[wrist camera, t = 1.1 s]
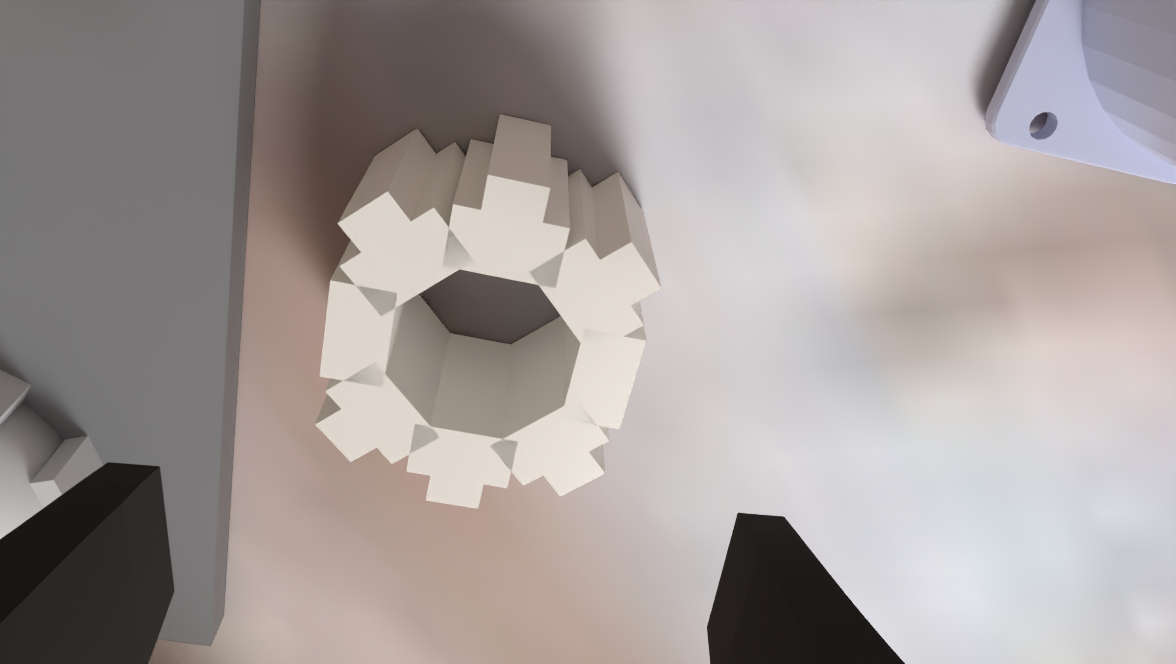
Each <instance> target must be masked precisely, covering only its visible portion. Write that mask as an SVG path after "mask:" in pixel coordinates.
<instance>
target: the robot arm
mask: <svg viewBox="0 0 1176 664" xmlns="http://www.w3.org/2000/svg"><path fill="white" fill-rule="evenodd" d="M1042 112H1046V113H1047V115H1048V117H1047V122H1046V124H1045V125H1044V127H1043V128H1042V129H1041V130H1039V131H1038V132H1036V133H1030V132H1029V127H1030V123H1031V121H1032V120H1033V119H1034V118H1035V116H1037V115H1039V114H1041V113H1042ZM985 125H986V129H987V131H988V132H989V134H990V135H991V136H992V137H993V138H995V139H996V140H998V141H1000V142H1002V143H1004V144H1006V145H1009V146H1014V147H1018V148H1022V149H1026V150H1031V151H1035V152H1039V153H1043V154H1048V155H1052V156H1056V157H1060V158H1064V159H1069V160H1073V161H1077V162H1081V163H1086V164H1090V165H1094V166H1098V167H1103V168H1107V169H1111V170H1115V171H1120V172H1124V173H1128V174H1132V175H1136V176H1141V177H1145V178H1149V179H1153V180H1158V181H1162V182H1166V183H1170V184H1175V185H1176V0H1036V1H1035V4H1034V6H1033V8H1032V10H1031V13H1030V15H1029V17H1028V19H1027V21H1026V24H1025V26H1024V28H1023V30H1022V33H1021V35H1020V37H1019V39H1018V42H1017V44H1016V46H1015V48H1014V51H1013V53H1012V55H1011V57H1010V59H1009V62H1008V64H1007V66H1006V68H1005V71H1004V73H1003V75H1002V77H1001V80H1000V82H999V84H998V86H997V89H996V91H995V93H994V95H993V97H992V100H991V102H990V104H989V106H988V109H987V112H986V116H985ZM174 591H175V590H174V581H173V573H172V564H171V556H170V547H169V539H168V530H167V522H166V513H165V504H164V496H163V487H162V479H161V470H160V466H150V465H138V464H126V463H113V462H108V463H106V464H105V465H103V466H102V467H100V468H99V469H97V470H96V471H94V472H93V473H91V474H90V475H89V476H87V477H86V478H84V479H83V480H82V481H80V482H79V483H77V484H76V485H75V486H73V487H72V488H71V489H69V490H68V491H66V492H65V493H64V494H62V495H61V496H60V497H58V498H57V499H55V500H54V501H53V502H51V503H50V504H49V505H47V506H46V507H44V508H43V509H42V510H40V511H39V512H38V513H36V514H35V515H33V516H32V517H31V518H29V519H28V520H26V521H25V522H24V523H22V524H21V525H20V526H18V527H17V528H15V529H14V530H12V531H11V532H10V533H8V534H7V535H5V536H4V537H2V538H1V539H0V664H148V662H149V659H150V657H151V654H152V652H153V649H154V646H155V644H156V641H157V639H158V636H159V633H160V631H161V628H162V625H163V622H164V619H165V617H166V614H167V611H168V608H169V605H170V602H171V600H172V597H173V594H174ZM707 632H708V643H709V653H710V664H905V663H904V662H903V661H902V660H901V659H900V657H899V656H898V655H897V654H896V653H895V652H894V651H893V650H892V649H891V647H890V646H889V645H888V644H887V643H886V642H885V641H884V639H883V638H882V637H881V636H880V635H879V634H878V632H877V631H876V630H875V629H874V628H873V626H872V625H871V624H870V623H869V622H868V621H867V619H866V618H865V617H864V616H863V615H862V614H861V612H860V611H859V610H858V609H857V607H856V606H855V605H854V604H853V603H852V601H851V600H850V599H849V598H848V597H847V595H846V594H845V593H844V592H843V590H842V589H841V588H840V587H839V585H838V584H837V583H836V582H835V580H834V579H833V578H832V577H831V575H830V574H829V573H828V572H827V570H826V569H825V568H824V567H823V565H822V564H821V563H820V561H819V560H818V559H817V558H816V556H815V555H814V554H813V553H812V551H811V550H810V549H809V548H808V546H807V545H806V544H805V542H804V541H803V540H802V539H801V537H800V536H799V535H798V534H797V532H796V531H795V530H794V529H793V527H792V526H791V525H790V524H789V522H788V521H787V520H786V519H785V517H782V516H770V515H757V514H745V513H738V514H737V518H736V522H735V525H734V529H733V533H732V537H731V540H730V544H729V548H728V551H727V555H726V559H725V563H724V566H723V570H722V574H721V577H720V581H719V585H718V588H717V592H716V596H715V600H714V603H713V607H712V611H711V614H710V618H709V622H708V626H707Z"/></svg>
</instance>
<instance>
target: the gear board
mask: <svg viewBox="0 0 1176 664" xmlns="http://www.w3.org/2000/svg"><path fill="white" fill-rule="evenodd" d="M260 4H261V0H0V539H1V538H2V537H4V536H5V535H7V534H8V533H10V532H11V531H12V530H14V529H15V528H17V527H18V526H20V525H21V524H22V523H24V522H25V521H26V520H28V519H29V518H31V517H32V516H33V515H35V514H36V513H38V512H39V511H40V510H42V509H43V508H44V507H46V506H47V505H49V504H50V503H51V502H53V501H54V500H55V499H57V498H58V497H60V496H61V495H62V494H64V493H65V492H66V491H68V490H69V489H71V488H72V487H73V486H75V485H76V484H77V483H79V482H80V481H82V480H83V479H84V478H86V477H87V476H89V475H90V474H91V473H93V472H94V471H96V470H97V469H99V468H100V467H102V466H103V465H105V464H106V463H108V462H113V463H126V464H138V465H150V466H160V470H161V479H162V487H163V496H164V504H165V513H166V522H167V530H168V539H169V547H170V556H171V564H172V573H173V581H174V590H175V591H174V594H173V597H172V600H171V602H170V605H169V608H168V611H167V614H166V617H165V619H164V622H163V625H162V628H161V631H160V633H159V636H158V639H161V640H168V641H176V642H183V643H191V644H198V645H206V646H211V644H212V642H213V640H214V637H215V635H216V633H217V630H218V628H219V626H220V623H221V621H222V618H223V616H224V603H225V587H226V570H227V553H228V537H229V520H230V503H231V487H232V470H233V453H234V437H235V420H236V403H237V387H238V370H239V353H240V337H241V320H242V303H243V287H244V270H245V253H246V237H247V220H248V203H249V187H250V170H251V154H252V137H253V120H254V104H255V87H256V70H257V54H258V37H259V20H260Z"/></svg>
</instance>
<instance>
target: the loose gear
mask: <svg viewBox="0 0 1176 664" xmlns="http://www.w3.org/2000/svg"><path fill="white" fill-rule="evenodd" d="M337 224H338V225H339V226H340V227H341V228H342V230H343V231H344V232H345V233H346V235H347V236H348V237H349V238H350V239H351V240H350V242H349V244H348V246H347V248H346V250H345V252H344V254H343V256H342V258H341V260H340V262H339V264H338V266H337V268H336V270H335V272H334V274H333V276H332V278H331V280H330V288H329V297H328V306H327V315H326V324H325V333H324V342H323V351H322V360H321V369H320V377H325V378H330V381H329V383H328V385H327V388H326V390H325V392H326V393H327V397H326V399H325V401H324V404H323V406H322V409H321V411H320V414H319V416H318V419H317V421H316V424H315V425H316V426H317V427H318V428H319V429H320V430H321V431H322V432H323V433H324V434H325V435H326V436H327V437H328V438H329V440H330V441H331V442H332V443H333V444H334V445H335V446H336V447H337V448H338V449H339V450H340V451H341V452H342V453H343V454H344V455H345V456H346V458H347V459H348V460H349V461H350V462H352V461H353V460H355V459H357V458H359V457H360V456H362V455H364V454H366V453H368V452H369V451H371V450H373V449H375V448H377V449H378V450H379V451H380V452H381V453H382V454H383V455H384V456H385V457H386V458H387V459H388V461H389V462H390V463H391V464H393V463H395V462H396V461H398V460H400V459H402V458H404V457H406V456H407V455H409V460H408V466H407V471H406V472H411V473H417V474H423V475H430V481H429V486H428V492H427V497H426V500H427V501H433V502H439V503H445V504H452V505H458V506H464V507H470V508H476V509H478V506H479V502H480V498H481V493H482V489H483V484H484V485H491V486H497V487H503V488H507V486H508V482H509V478H510V474H511V472H512V473H513V474H514V475H515V477H516V478H517V479H518V480H519V481H520V483H521V484H522V485H523V486H524V485H526V484H528V483H529V482H531V481H533V480H535V479H537V478H539V477H541V476H544V477H545V478H546V479H547V481H548V482H549V483H550V484H551V485H552V487H553V488H554V489H555V490H556V492H557V493H558V494H559V495H560V496H562V495H564V494H566V493H568V492H570V491H572V490H574V489H576V488H578V487H580V486H582V485H584V484H586V483H588V482H589V481H591V480H593V479H595V478H597V477H599V476H601V475H603V474H605V464H604V451H603V444H604V443H606V442H608V441H609V432H608V427H609V428H615V429H620V426H621V422H622V419H623V416H624V413H625V409H626V406H627V403H628V399H629V396H630V393H631V390H632V386H633V383H634V380H635V377H636V373H637V370H638V367H639V363H640V360H641V357H642V354H643V350H644V347H645V344H646V336H645V330H644V322H643V317H642V311H641V306H640V300H642V299H643V298H645V297H647V296H649V295H651V294H652V293H654V292H656V291H658V290H659V289H661V284H660V280H659V275H658V271H657V267H656V263H655V259H654V254H653V250H652V246H651V242H650V238H649V233H648V229H647V225H646V221H645V217H644V212H643V211H642V209H641V207H640V206H639V204H638V203H637V201H636V199H635V198H634V196H633V195H632V193H631V192H630V190H629V188H628V187H627V185H626V184H625V182H624V180H623V179H622V177H621V176H620V174H619V172H617V173H615V174H613V175H612V176H610V177H608V178H607V179H605V180H604V181H602V182H600V183H599V184H597V185H595V186H594V187H592V186H591V185H590V183H589V182H588V180H587V179H586V177H585V176H584V174H583V172H582V171H581V169H579V170H577V171H576V172H574V173H573V174H571V175H569V176H568V167H567V160H565V159H560V158H556V157H551V125H547V124H542V123H538V122H533V121H529V120H524V119H520V118H515V117H511V116H506V115H502V114H500V115H499V120H498V125H497V130H496V135H495V140H494V144H491V143H487V142H482V141H477V140H473V139H471V140H470V144H469V147H468V151H467V155H466V157H465V155H464V154H463V152H462V151H461V150H460V148H459V147H458V145H457V144H456V143H455V142H454V143H452V144H451V145H449V146H448V147H446V148H444V149H443V150H441V151H440V152H438V153H437V154H436V153H435V152H434V150H433V149H432V148H431V146H430V145H429V144H428V142H427V141H426V139H425V138H424V137H423V135H422V134H421V133H420V131H419V130H418V128H417V129H415V130H414V131H412V132H410V133H409V134H407V135H406V136H404V137H403V138H401V139H400V140H398V141H397V142H395V143H394V144H392V145H391V146H389V147H387V148H386V149H384V150H383V151H381V152H380V153H378V154H377V155H375V157H374V159H373V161H372V162H371V164H370V166H369V168H368V170H367V171H366V173H365V175H364V177H363V179H362V180H361V182H360V184H359V186H358V188H357V189H356V191H355V193H354V195H353V196H352V198H351V200H350V202H349V204H348V205H347V207H346V209H345V211H344V213H343V214H342V216H341V218H340V220H339V222H338V223H337ZM459 269H460V270H465V271H470V272H475V273H480V274H485V275H491V276H496V277H501V278H506V279H511V280H516V281H521V282H526V283H531V284H536V285H539V286H540V288H541V289H542V290H543V292H544V293H545V295H546V296H547V297H548V299H549V300H550V301H551V303H552V304H553V306H554V307H555V308H556V310H557V311H558V313H559V314H560V315H561V316H560V317H558V318H557V319H555V320H553V321H551V322H550V323H548V324H546V325H544V326H543V327H541V328H539V329H537V330H535V331H534V332H532V333H530V334H528V335H527V336H525V337H523V338H521V339H520V340H518V341H516V342H514V343H513V344H506V343H500V342H495V341H490V340H484V339H479V338H474V337H468V336H463V335H457V334H452V333H450V332H449V331H448V330H447V329H446V327H445V326H444V325H443V324H442V322H441V321H440V320H439V319H438V317H437V316H436V315H435V314H434V312H433V311H432V310H431V309H430V307H429V306H428V305H427V304H426V302H425V301H424V300H423V299H422V297H421V296H420V295H419V293H421V292H423V291H424V290H426V289H428V288H429V287H431V286H433V285H434V284H436V283H438V282H439V281H441V280H443V279H444V278H446V277H448V276H449V275H451V274H453V273H454V272H456V271H458V270H459Z"/></svg>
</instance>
